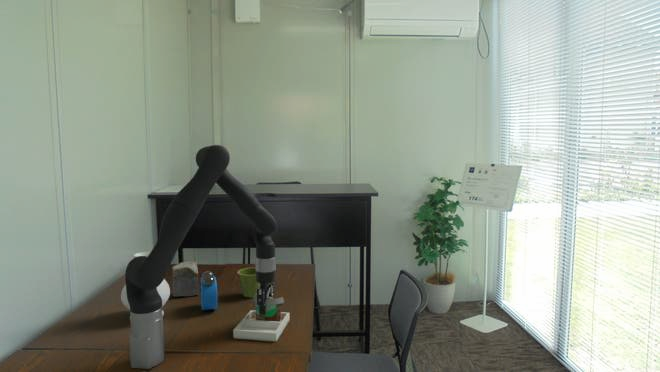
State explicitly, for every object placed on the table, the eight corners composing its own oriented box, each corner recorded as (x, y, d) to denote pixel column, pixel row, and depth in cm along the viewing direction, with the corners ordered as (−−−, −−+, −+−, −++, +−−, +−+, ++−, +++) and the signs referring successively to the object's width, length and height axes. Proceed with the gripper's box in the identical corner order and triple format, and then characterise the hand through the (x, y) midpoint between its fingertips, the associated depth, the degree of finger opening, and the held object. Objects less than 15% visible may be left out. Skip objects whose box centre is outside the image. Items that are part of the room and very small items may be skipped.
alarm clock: (217, 313, 175) (216, 277, 173) (201, 315, 173) (200, 279, 171) (215, 302, 187) (214, 268, 186) (200, 304, 185) (199, 269, 184)
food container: (246, 322, 163) (247, 295, 163) (255, 318, 169) (256, 292, 169) (274, 328, 158) (275, 300, 158) (282, 323, 164) (284, 297, 164)
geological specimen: (173, 299, 190) (172, 266, 189) (172, 295, 196) (171, 262, 194) (199, 296, 195) (198, 263, 193) (197, 291, 200) (196, 259, 199)
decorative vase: (179, 310, 179) (177, 250, 176) (151, 327, 162) (148, 261, 159) (143, 305, 183) (140, 247, 181) (111, 322, 166) (108, 258, 164)
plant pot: (252, 289, 204) (252, 265, 203) (270, 294, 197) (269, 270, 195) (232, 296, 195) (231, 271, 194) (249, 302, 187) (249, 276, 186)
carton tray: (276, 341, 151) (276, 333, 150) (233, 338, 153) (233, 330, 153) (289, 320, 169) (289, 312, 168) (251, 317, 171) (250, 310, 171)
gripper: (269, 274, 155) (270, 318, 157) (280, 263, 169) (280, 304, 171) (249, 273, 157) (250, 317, 158) (261, 262, 171) (262, 303, 172)
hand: (266, 310), depth 164 cm, fingers open, 8 cm apart
